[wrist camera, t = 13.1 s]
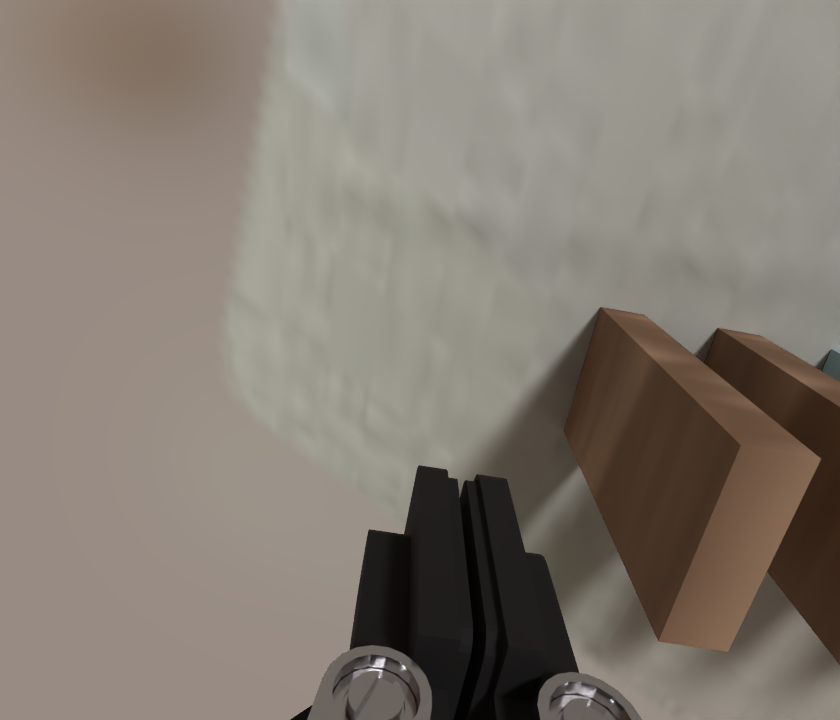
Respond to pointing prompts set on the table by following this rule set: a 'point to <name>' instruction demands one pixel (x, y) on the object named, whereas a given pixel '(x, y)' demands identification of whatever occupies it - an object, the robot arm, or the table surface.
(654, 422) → the domino
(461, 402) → the table surface
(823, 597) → the domino
